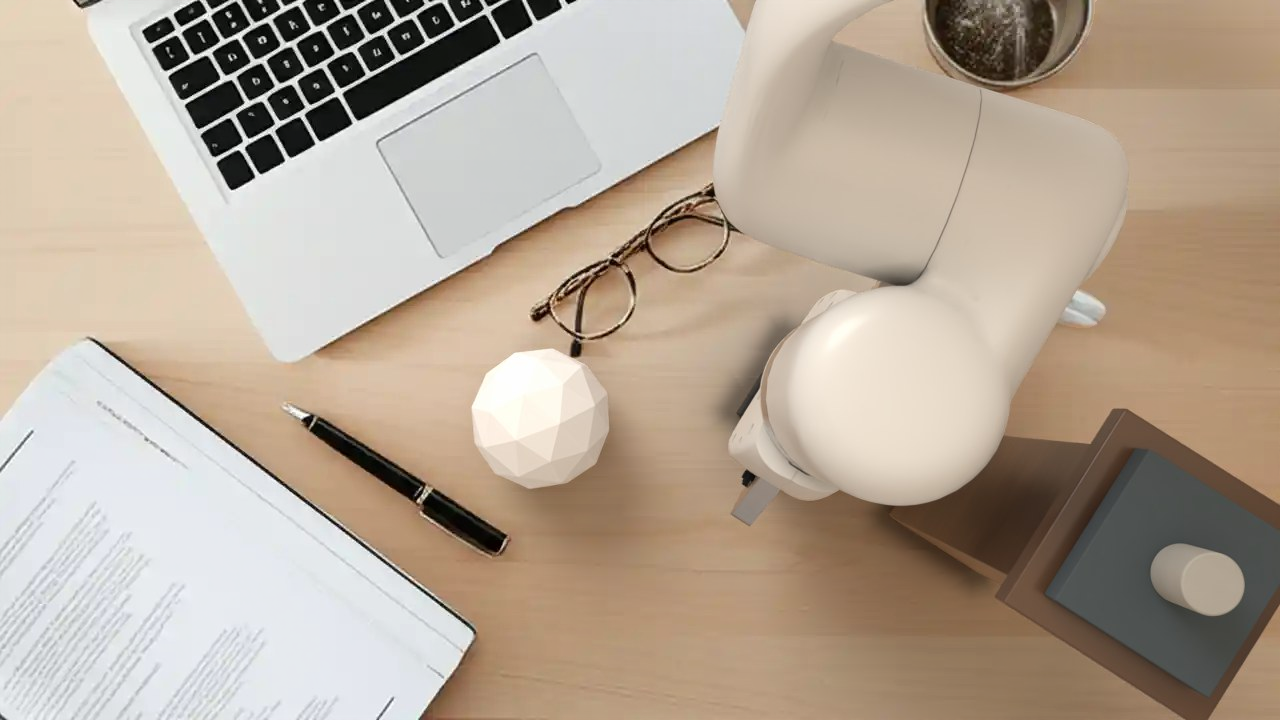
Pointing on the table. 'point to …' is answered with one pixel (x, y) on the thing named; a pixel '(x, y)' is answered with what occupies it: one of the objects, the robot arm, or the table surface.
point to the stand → (1072, 536)
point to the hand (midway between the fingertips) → (801, 399)
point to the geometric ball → (540, 418)
